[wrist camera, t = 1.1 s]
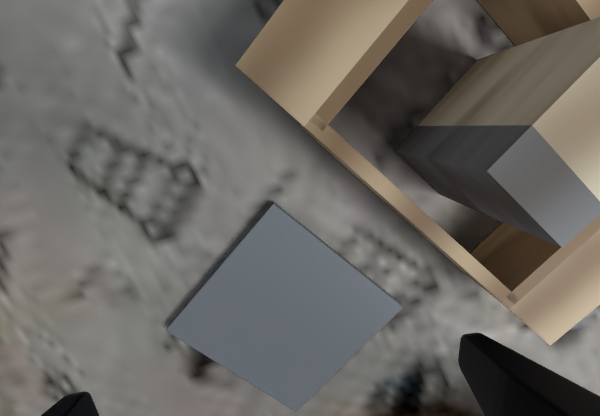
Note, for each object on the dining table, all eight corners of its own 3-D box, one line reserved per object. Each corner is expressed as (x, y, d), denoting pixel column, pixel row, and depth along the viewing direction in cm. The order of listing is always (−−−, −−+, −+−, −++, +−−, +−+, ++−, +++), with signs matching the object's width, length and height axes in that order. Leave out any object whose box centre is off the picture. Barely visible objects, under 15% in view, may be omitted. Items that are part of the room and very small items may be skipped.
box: (522, 111, 19) (729, 97, 10) (441, 195, 20) (562, 247, 11) (477, 59, 18) (660, -5, 9) (394, 150, 19) (486, 171, 10)
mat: (400, 303, 22) (403, 307, 21) (295, 406, 24) (295, 411, 23) (273, 202, 19) (273, 203, 19) (168, 325, 21) (165, 330, 21)
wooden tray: (640, 175, 20) (738, 188, 16) (498, 303, 22) (550, 345, 18) (399, -120, 15) (445, -217, 11) (247, 80, 17) (235, 65, 13)
